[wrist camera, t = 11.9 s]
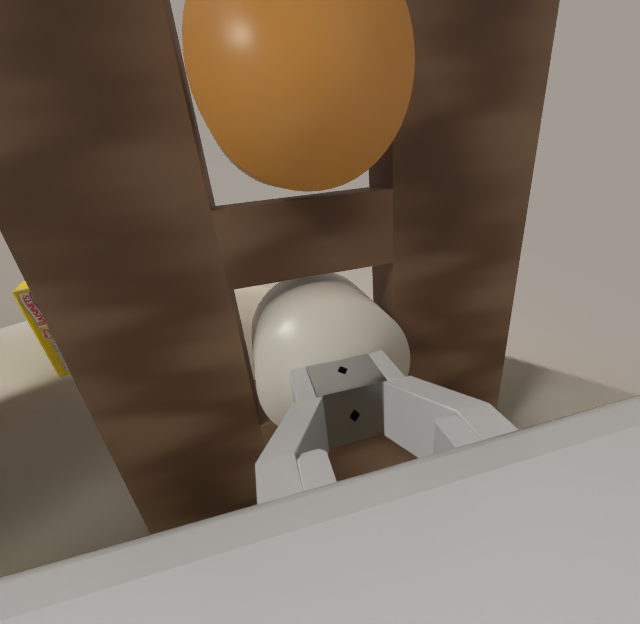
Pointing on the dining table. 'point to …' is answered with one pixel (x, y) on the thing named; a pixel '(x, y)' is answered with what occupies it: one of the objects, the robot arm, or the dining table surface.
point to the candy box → (40, 328)
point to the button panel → (252, 230)
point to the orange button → (300, 84)
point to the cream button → (316, 333)
